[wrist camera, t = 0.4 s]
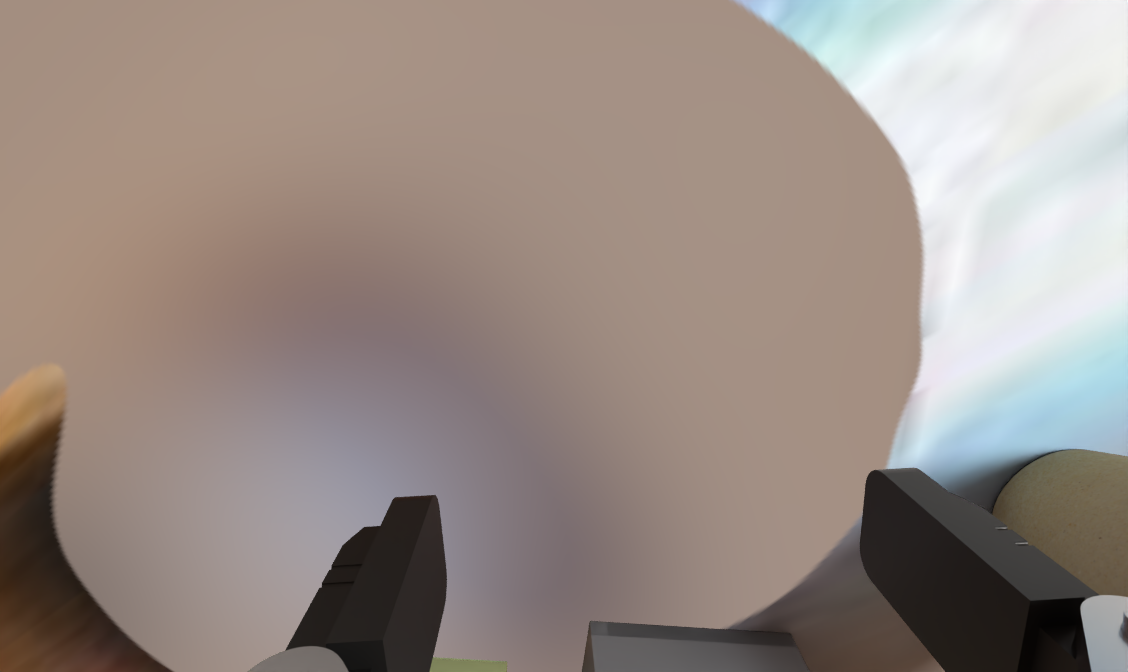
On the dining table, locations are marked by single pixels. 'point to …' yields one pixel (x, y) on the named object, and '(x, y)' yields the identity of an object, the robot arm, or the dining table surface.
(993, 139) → the dining table surface
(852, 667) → the dining table surface
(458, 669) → the green block
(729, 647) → the bin
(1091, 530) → the plant pot
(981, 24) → the dining table surface
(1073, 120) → the dining table surface
